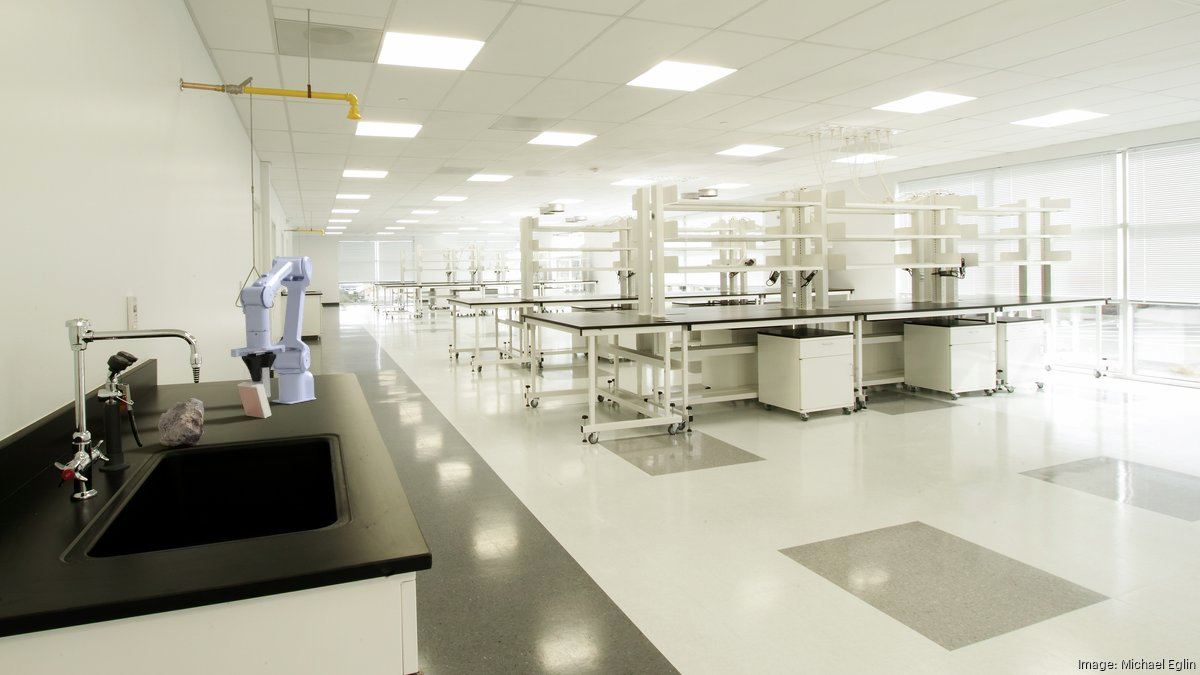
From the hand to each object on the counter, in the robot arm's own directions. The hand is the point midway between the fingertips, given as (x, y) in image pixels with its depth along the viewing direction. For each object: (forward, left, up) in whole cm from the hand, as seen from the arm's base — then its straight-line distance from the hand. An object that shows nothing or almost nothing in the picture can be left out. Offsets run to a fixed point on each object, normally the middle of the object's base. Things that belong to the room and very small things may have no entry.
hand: (260, 380), depth 175 cm
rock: (+28, +12, -10) cm, 32 cm away
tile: (+1, 0, -9) cm, 9 cm away
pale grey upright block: (0, 0, -4) cm, 4 cm away
